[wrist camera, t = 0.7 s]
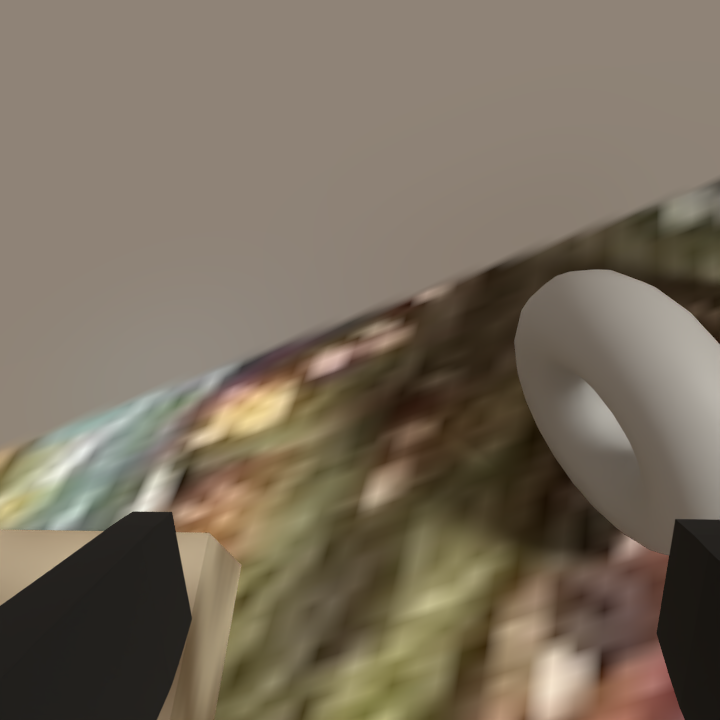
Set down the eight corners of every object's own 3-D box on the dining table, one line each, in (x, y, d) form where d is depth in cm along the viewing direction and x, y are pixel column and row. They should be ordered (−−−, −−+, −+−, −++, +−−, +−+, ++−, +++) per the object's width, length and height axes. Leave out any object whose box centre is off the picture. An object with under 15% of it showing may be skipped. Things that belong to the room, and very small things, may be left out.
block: (188, 889, 20) (130, 906, 17) (-89, 857, 22) (-189, 866, 18) (244, 567, 26) (209, 532, 22) (21, 561, 27) (-42, 529, 24)
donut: (493, 402, 28) (496, 234, 19) (561, 367, 28) (590, 188, 20) (655, 617, 22) (754, 505, 14) (736, 568, 22) (879, 432, 14)
